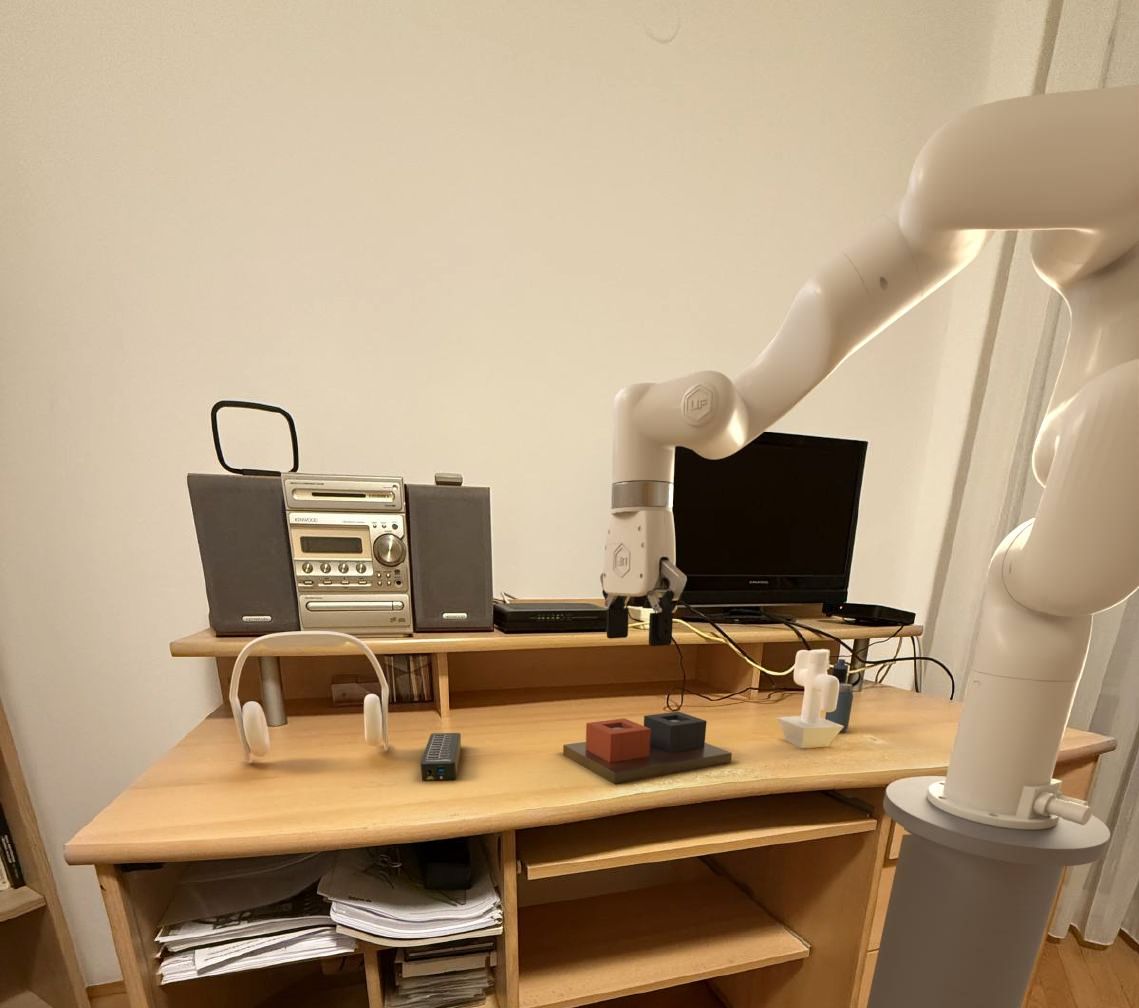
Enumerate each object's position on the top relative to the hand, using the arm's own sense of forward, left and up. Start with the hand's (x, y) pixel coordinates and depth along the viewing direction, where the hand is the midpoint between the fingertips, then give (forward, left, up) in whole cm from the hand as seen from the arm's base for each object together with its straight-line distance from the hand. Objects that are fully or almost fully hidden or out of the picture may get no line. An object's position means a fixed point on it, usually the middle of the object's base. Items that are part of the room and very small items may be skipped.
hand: (637, 641), depth 79 cm
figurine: (-4, -31, -17) cm, 36 cm away
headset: (+21, +39, -17) cm, 47 cm away
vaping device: (0, -43, -17) cm, 47 cm away
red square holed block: (+1, +2, -16) cm, 16 cm away
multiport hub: (+12, +24, -17) cm, 32 cm away
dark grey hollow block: (+1, -8, -16) cm, 18 cm away
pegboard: (+1, -3, -17) cm, 18 cm away
